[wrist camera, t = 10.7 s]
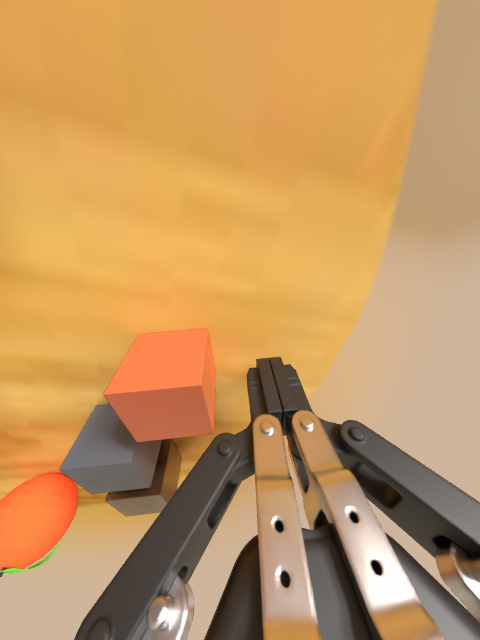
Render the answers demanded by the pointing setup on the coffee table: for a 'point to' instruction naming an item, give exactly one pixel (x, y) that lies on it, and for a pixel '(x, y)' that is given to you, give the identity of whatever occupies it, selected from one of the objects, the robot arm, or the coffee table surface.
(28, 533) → the clementine
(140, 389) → the terracotta block
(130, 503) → the walnut block
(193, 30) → the coffee table surface
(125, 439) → the slate block
